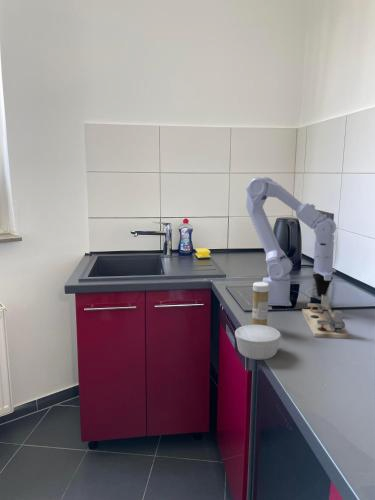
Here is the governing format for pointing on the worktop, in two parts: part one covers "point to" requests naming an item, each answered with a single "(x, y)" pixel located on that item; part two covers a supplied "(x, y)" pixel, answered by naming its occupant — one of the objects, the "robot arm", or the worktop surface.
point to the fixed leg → (334, 321)
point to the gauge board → (326, 331)
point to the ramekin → (257, 341)
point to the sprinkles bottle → (260, 303)
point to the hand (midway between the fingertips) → (321, 296)
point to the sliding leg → (321, 304)
